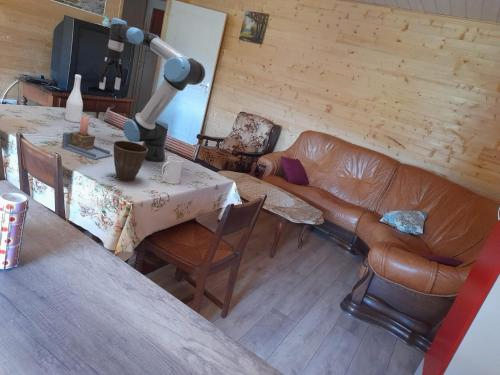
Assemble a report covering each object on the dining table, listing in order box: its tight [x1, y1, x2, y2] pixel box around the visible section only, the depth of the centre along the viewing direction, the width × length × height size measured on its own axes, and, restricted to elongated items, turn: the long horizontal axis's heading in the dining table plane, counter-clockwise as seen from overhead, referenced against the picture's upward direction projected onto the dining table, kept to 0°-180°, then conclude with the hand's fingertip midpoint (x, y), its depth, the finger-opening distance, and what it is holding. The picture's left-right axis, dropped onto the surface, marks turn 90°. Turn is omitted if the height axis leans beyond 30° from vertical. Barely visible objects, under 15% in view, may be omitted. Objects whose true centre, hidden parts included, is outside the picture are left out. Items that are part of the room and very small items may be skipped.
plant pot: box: [113, 140, 148, 182], centre depth 161 cm, size 15×15×16 cm
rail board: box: [61, 130, 114, 161], centre depth 181 cm, size 20×14×8 cm
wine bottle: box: [64, 74, 84, 123], centre depth 226 cm, size 10×10×30 cm
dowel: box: [79, 116, 90, 136], centre depth 180 cm, size 4×4×14 cm
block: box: [70, 131, 96, 150], centre depth 182 cm, size 8×8×7 cm
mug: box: [161, 155, 185, 185], centre depth 174 cm, size 12×8×12 cm
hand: (109, 89), depth 194 cm, fingers open, 13 cm apart
